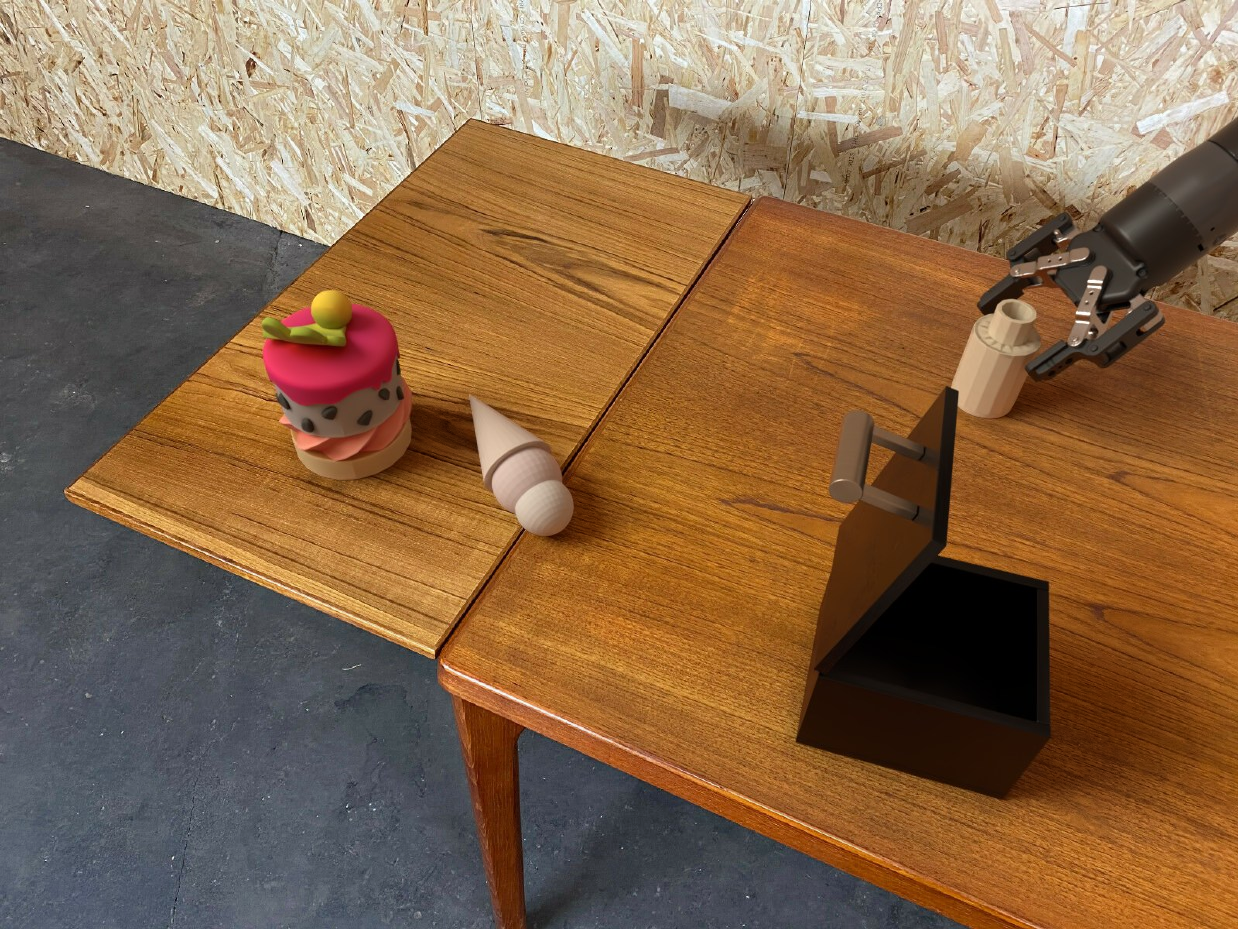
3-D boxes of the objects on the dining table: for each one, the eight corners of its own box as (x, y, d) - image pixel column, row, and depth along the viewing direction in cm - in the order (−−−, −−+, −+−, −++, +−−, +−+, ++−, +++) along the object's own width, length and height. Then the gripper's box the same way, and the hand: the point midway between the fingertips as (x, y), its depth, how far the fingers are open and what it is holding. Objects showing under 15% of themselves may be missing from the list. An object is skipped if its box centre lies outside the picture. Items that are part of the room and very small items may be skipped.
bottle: (1013, 383, 89) (1051, 297, 82) (1012, 424, 85) (1051, 338, 78) (951, 371, 90) (984, 285, 83) (948, 411, 86) (981, 324, 79)
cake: (313, 391, 86) (272, 251, 75) (428, 400, 86) (404, 261, 75) (274, 477, 79) (222, 337, 68) (399, 488, 79) (368, 349, 68)
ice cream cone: (474, 422, 84) (560, 553, 77) (422, 415, 79) (509, 555, 72) (514, 371, 81) (606, 503, 75) (462, 361, 76) (557, 501, 70)
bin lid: (959, 390, 54) (867, 353, 54) (946, 546, 46) (840, 503, 46) (849, 530, 65) (773, 499, 65) (825, 674, 57) (739, 639, 57)
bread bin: (1006, 651, 69) (1049, 581, 63) (1002, 800, 62) (1051, 737, 55) (820, 605, 72) (843, 532, 65) (795, 742, 64) (817, 676, 58)
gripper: (1114, 142, 79) (948, 273, 85) (1225, 241, 69) (1029, 379, 76) (1143, 192, 83) (984, 312, 90) (1250, 290, 74) (1064, 417, 81)
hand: (1005, 343), depth 83 cm, fingers open, 8 cm apart
